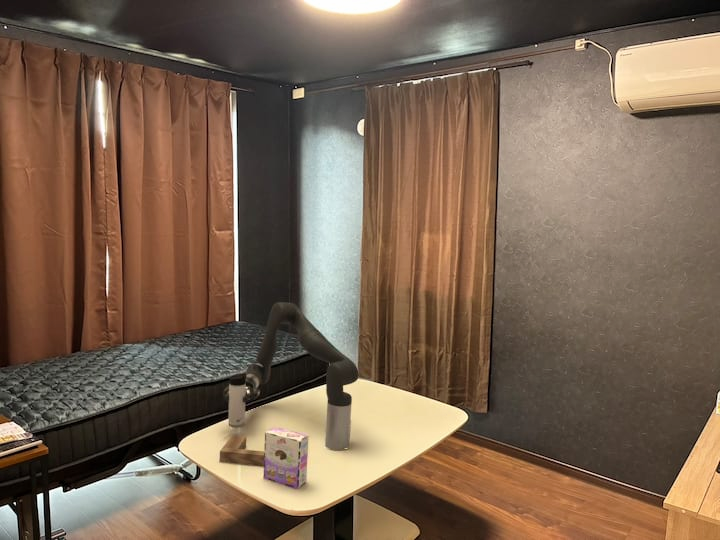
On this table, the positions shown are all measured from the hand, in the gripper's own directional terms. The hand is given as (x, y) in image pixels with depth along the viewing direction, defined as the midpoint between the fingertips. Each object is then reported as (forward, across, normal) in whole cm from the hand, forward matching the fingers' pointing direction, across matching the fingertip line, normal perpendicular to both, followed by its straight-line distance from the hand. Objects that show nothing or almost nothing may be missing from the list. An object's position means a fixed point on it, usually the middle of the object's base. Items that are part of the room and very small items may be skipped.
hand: (235, 399), depth 208 cm
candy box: (+27, +26, +16) cm, 41 cm away
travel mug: (-2, 0, +11) cm, 11 cm away
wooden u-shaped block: (+12, +12, +16) cm, 23 cm away
